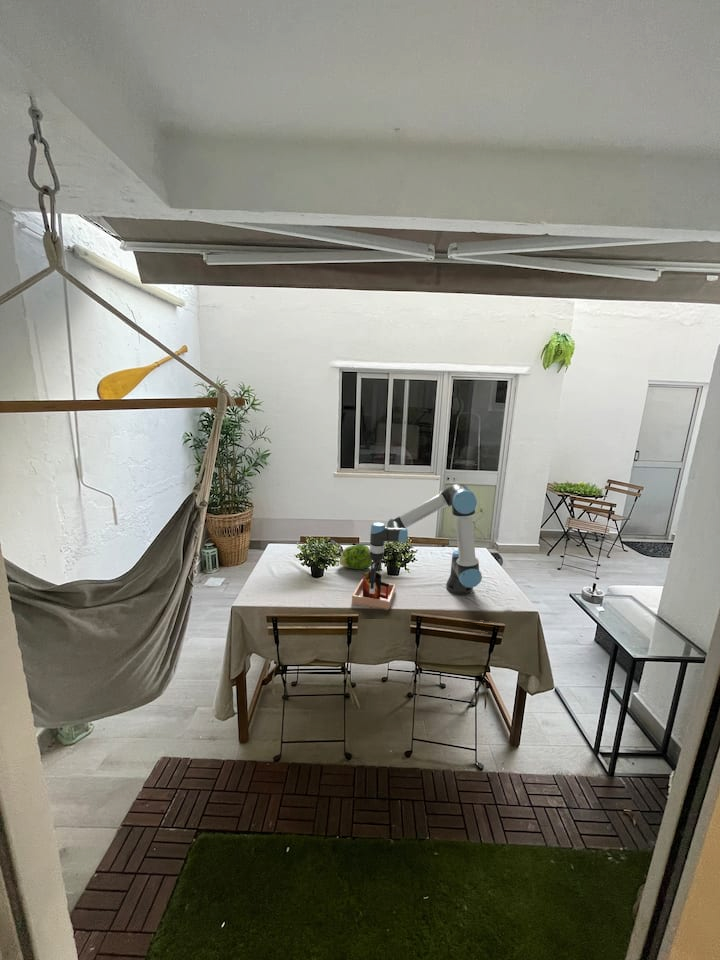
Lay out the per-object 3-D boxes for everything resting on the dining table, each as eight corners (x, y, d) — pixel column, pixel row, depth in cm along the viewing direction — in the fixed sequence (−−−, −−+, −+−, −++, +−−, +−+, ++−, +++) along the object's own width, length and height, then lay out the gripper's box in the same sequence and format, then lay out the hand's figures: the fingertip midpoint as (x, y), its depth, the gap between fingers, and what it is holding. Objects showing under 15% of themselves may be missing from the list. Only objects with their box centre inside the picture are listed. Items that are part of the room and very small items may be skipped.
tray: (395, 592, 231) (395, 584, 230) (388, 610, 213) (389, 602, 211) (361, 586, 236) (361, 578, 235) (351, 603, 217) (352, 595, 216)
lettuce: (342, 564, 269) (335, 545, 264) (372, 556, 269) (366, 536, 263) (343, 579, 255) (336, 559, 249) (375, 570, 254) (369, 550, 248)
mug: (387, 601, 220) (389, 581, 217) (362, 599, 220) (363, 579, 217) (387, 592, 229) (388, 572, 226) (363, 591, 230) (364, 571, 227)
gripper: (375, 542, 231) (373, 576, 236) (364, 559, 207) (362, 597, 212) (388, 543, 229) (386, 578, 234) (378, 561, 205) (376, 599, 210)
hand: (374, 587), depth 223 cm, fingers open, 13 cm apart
